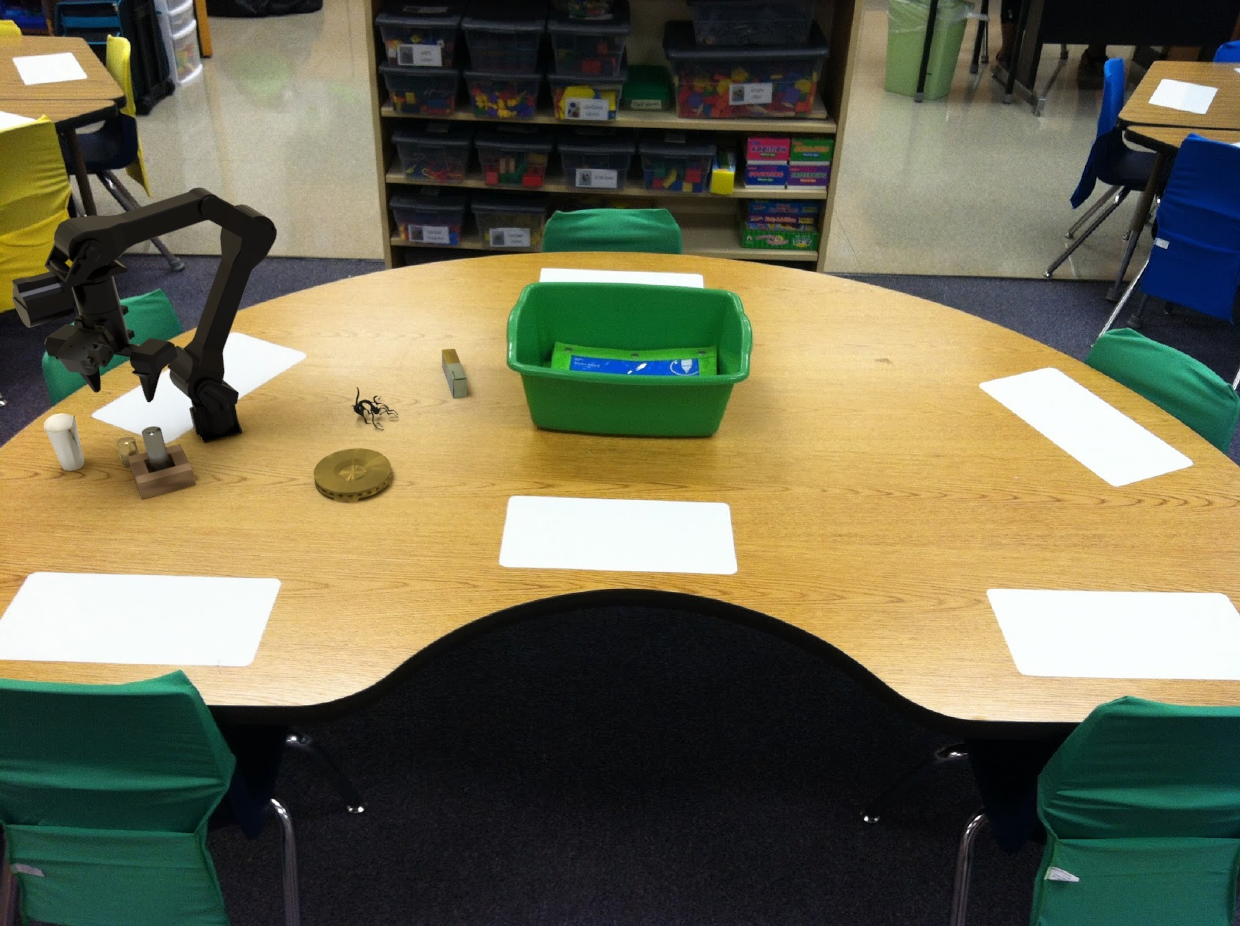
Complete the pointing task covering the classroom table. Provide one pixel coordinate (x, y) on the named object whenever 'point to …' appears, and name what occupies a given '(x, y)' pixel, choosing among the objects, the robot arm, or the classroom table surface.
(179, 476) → the collar
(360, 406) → the creature
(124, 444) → the short pin
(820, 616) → the classroom table surface
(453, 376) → the medication box
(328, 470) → the compass
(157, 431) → the long pin
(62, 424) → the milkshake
